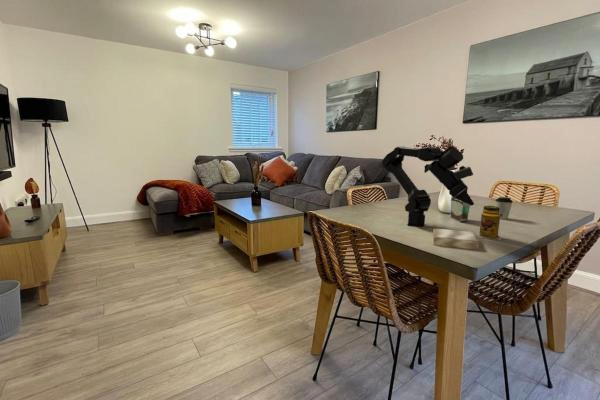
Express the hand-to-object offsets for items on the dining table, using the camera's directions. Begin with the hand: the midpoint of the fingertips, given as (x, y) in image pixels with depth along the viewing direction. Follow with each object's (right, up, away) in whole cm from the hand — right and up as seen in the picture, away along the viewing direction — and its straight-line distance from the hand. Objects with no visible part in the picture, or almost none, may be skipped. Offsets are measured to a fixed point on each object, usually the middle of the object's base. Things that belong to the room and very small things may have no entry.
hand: (471, 202), depth 116 cm
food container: (+9, -9, +24) cm, 27 cm away
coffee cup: (+30, -8, +26) cm, 41 cm away
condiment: (+6, -13, 0) cm, 15 cm away
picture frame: (-11, -15, -7) cm, 19 cm away
